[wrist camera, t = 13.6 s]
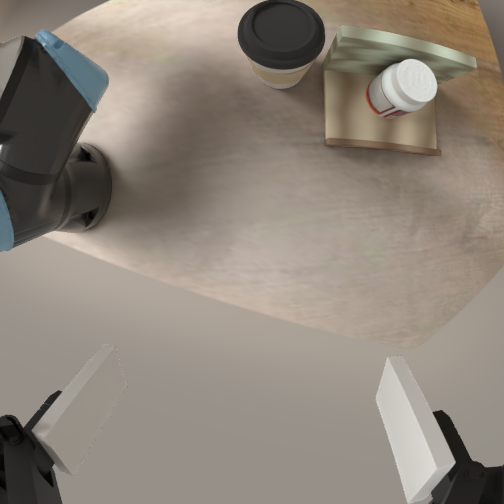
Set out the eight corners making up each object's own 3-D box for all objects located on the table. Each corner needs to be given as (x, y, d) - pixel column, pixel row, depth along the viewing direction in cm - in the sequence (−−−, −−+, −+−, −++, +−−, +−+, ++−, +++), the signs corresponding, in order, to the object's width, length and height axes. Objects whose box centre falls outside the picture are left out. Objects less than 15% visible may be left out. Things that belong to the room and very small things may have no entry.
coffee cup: (324, 79, 36) (346, 40, 22) (269, 107, 38) (265, 77, 24) (290, 32, 34) (295, -21, 20) (236, 59, 36) (217, 13, 22)
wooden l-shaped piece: (324, 145, 39) (347, 136, 26) (322, 64, 36) (340, 24, 22) (430, 155, 38) (483, 156, 24) (426, 80, 34) (475, 57, 21)
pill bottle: (409, 93, 34) (447, 75, 23) (395, 127, 36) (432, 117, 25) (372, 71, 33) (402, 44, 23) (357, 105, 35) (385, 86, 24)
